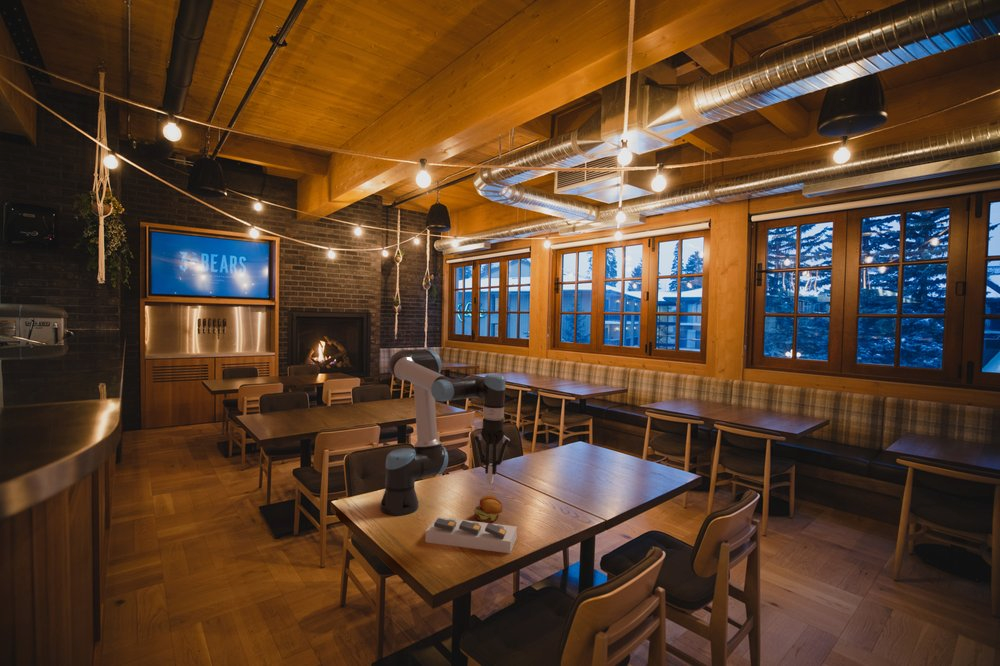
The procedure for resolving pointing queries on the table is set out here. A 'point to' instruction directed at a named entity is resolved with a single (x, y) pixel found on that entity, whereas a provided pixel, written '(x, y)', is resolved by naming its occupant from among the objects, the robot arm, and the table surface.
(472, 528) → the rocker middle
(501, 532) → the rocker right
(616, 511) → the table surface
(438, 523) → the rocker left
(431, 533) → the rocker switch panel
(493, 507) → the cheeseburger
